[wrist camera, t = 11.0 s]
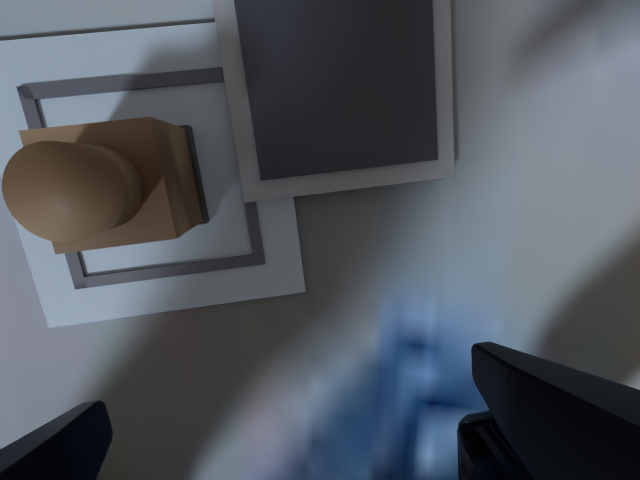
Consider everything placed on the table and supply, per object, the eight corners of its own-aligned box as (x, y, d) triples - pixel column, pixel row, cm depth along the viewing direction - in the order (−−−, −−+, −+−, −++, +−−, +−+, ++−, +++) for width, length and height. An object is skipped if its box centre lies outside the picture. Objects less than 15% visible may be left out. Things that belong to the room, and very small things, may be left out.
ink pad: (444, 176, 19) (457, 177, 18) (247, 200, 19) (243, 203, 17) (437, -52, 17) (451, -72, 15) (209, -35, 16) (201, -54, 15)
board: (305, 289, 20) (306, 293, 19) (53, 324, 19) (46, 329, 18) (270, 20, 17) (270, 15, 16) (-33, 47, 16) (-45, 42, 15)
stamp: (209, 221, 18) (157, 259, 11) (116, 233, 18) (-2, 280, 11) (191, 126, 17) (120, 99, 10) (91, 137, 17) (-58, 116, 10)
